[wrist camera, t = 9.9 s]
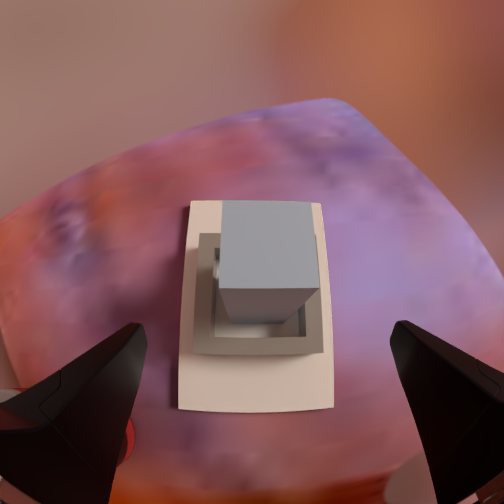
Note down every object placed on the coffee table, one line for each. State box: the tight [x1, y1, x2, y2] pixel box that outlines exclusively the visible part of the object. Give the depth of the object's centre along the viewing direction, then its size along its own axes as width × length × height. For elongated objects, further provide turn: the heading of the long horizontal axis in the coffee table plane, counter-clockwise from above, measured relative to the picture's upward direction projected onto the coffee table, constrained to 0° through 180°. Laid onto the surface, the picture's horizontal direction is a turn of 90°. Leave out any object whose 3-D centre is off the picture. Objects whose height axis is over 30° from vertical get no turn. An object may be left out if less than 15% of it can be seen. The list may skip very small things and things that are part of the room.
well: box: [178, 201, 334, 413], centre depth 21 cm, size 18×12×3 cm, turn 0°
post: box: [219, 200, 320, 324], centre depth 17 cm, size 4×4×11 cm
